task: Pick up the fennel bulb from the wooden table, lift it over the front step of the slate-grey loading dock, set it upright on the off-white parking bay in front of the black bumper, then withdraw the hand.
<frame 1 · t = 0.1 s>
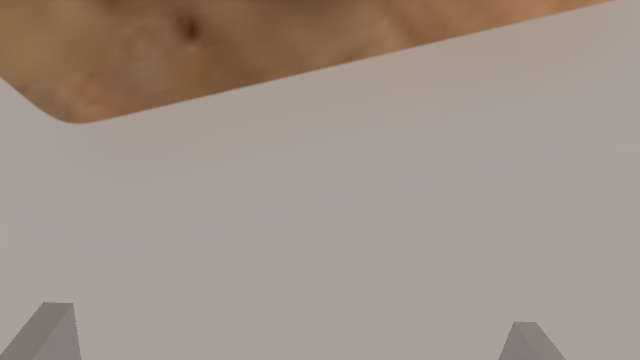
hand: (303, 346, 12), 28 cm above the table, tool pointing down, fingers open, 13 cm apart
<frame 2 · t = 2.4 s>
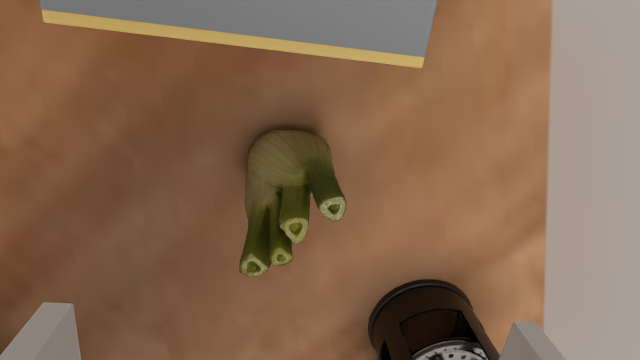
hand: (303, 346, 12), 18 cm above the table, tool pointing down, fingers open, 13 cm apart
fennel bulb: (286, 155, 29), on the table
french press: (415, 324, 36), on the table
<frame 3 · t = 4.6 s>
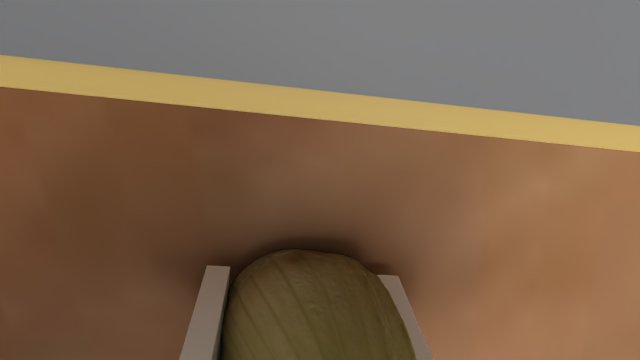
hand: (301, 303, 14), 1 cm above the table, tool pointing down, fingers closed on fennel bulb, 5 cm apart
fennel bulb: (301, 285, 15), on the table, touching gripper
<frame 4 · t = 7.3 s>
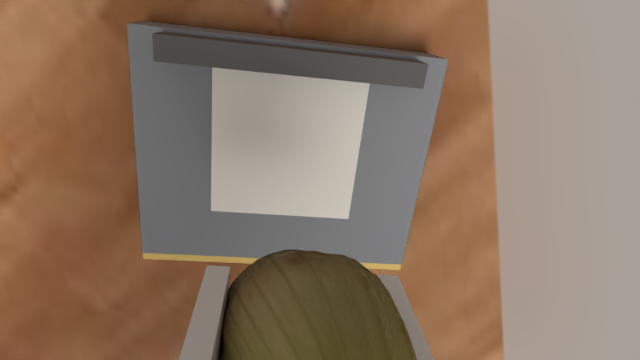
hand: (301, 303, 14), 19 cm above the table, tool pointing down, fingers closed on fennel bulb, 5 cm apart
loading dock: (285, 144, 32), on the table
fennel bulb: (301, 285, 15), point 18 cm above the table, touching gripper
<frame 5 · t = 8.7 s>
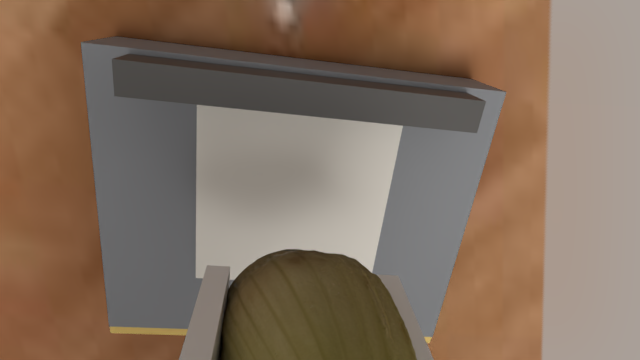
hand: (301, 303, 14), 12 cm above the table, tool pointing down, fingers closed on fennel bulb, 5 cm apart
loading dock: (290, 188, 25), on the table
fennel bulb: (301, 285, 15), point 11 cm above the table, touching gripper
when the fingers open (6 cm above the table, at t = 10.0 s): fennel bulb drops 1 cm, resting on loading dock.
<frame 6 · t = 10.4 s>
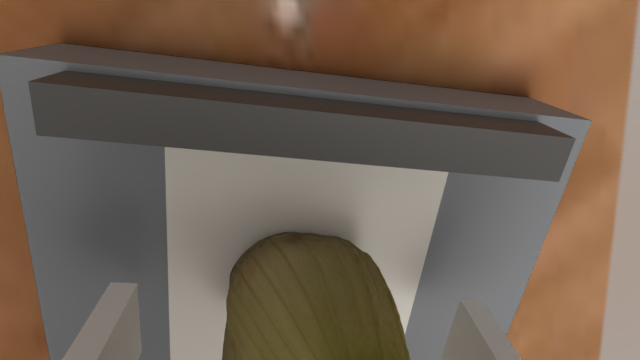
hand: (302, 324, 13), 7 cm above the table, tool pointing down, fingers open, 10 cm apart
loading dock: (294, 234, 20), on the table
fennel bulb: (299, 267, 16), point 4 cm above the table, touching loading dock
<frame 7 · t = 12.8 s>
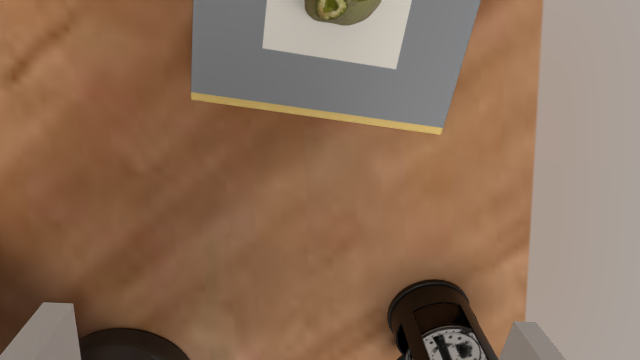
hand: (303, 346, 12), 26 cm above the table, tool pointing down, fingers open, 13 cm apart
french press: (424, 313, 46), on the table
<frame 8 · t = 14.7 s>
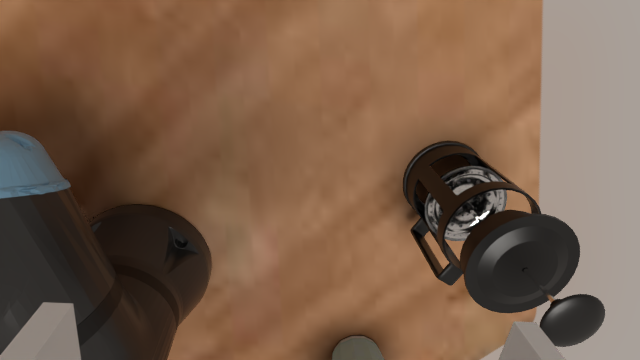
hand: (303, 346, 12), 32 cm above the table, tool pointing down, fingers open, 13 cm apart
disposable coffee cup: (353, 349, 56), on the table
french press: (439, 182, 46), on the table
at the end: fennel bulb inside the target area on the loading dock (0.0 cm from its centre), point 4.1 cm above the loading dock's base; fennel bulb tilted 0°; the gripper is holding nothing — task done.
